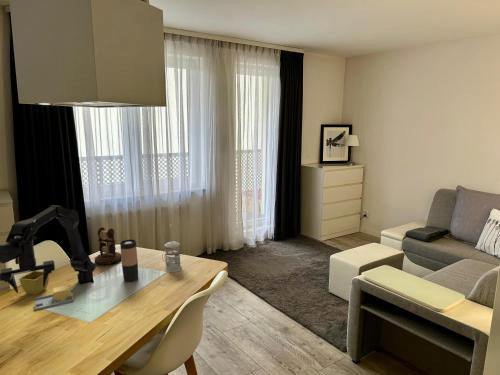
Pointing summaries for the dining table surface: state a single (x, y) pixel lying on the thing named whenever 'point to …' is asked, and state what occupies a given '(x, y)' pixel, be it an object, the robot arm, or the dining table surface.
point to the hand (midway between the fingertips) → (30, 289)
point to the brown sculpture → (107, 247)
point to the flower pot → (33, 282)
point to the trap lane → (50, 301)
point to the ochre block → (61, 292)
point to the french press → (176, 259)
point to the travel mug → (129, 260)
